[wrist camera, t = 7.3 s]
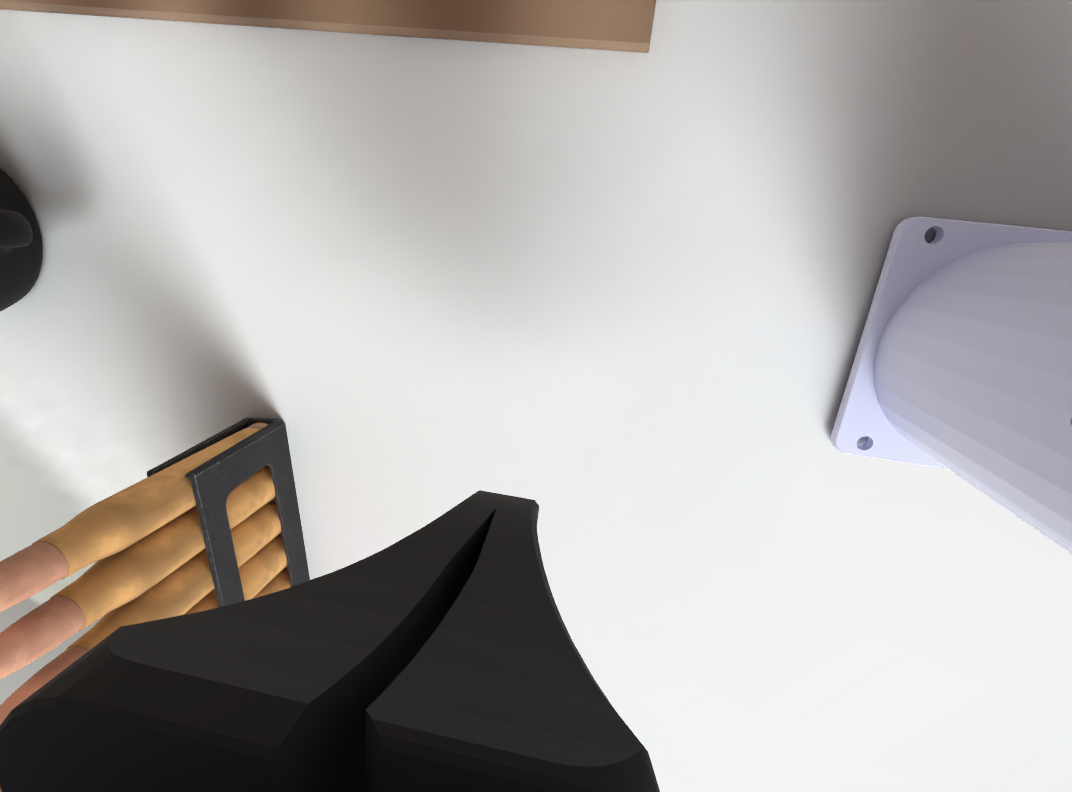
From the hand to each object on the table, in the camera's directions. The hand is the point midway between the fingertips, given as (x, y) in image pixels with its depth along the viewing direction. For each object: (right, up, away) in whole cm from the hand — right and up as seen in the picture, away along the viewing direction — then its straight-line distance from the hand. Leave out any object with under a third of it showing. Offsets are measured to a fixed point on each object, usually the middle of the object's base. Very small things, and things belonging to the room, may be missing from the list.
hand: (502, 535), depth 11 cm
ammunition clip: (-11, -3, +13) cm, 17 cm away
